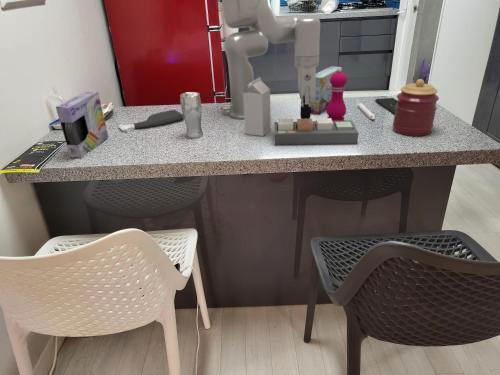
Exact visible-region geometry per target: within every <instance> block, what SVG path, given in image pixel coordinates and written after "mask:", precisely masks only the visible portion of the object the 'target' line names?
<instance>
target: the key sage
mask: <svg viewBox="0 0 500 375" xmlns="http://www.w3.org/2000/svg"><path fill="white" fill-rule="evenodd" d="M335 128H336V130H350V129H353V126H352V124H351V122H335Z"/></svg>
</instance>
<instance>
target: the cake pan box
mask: <svg viewBox="0 0 500 375" xmlns="http://www.w3.org/2000/svg"><path fill="white" fill-rule="evenodd" d="M99 94H100V93H99V91H97V90H86V91H84V92H82V93H80V94H78V95H75V96H73V97H71V98H69V99H68V100H66V101H64V102H62V103H60V104H58V105H56V106H55V109H56V114H57V117H58V121H59V123H60V127H61V130H62V133H63V137H64V141H65V144H66V147H67V150H68V154H69V157H70V158H71V157H77V158H76V159H83V158H84V157H85V156H87V155H88V154H89V153H90V152H92V151H93V150H94V149H95V148H97V147H98V146H99V145H101V142H102V143H103V142H104V141H106V139H108V138H109V134H108V129H107V124H106V120H105V116H104V111H103V107H102V103H101V99H100V95H99ZM96 146H97V147H96ZM92 149H93V150H92ZM91 150H92V151H91ZM88 152H89V153H88ZM87 153H88V154H87ZM86 154H87V155H86ZM84 155H85V156H84ZM83 156H84V157H83ZM82 157H83V158H82Z"/></svg>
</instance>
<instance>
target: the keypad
mask: <svg viewBox="0 0 500 375" xmlns="http://www.w3.org/2000/svg"><path fill="white" fill-rule="evenodd" d="M312 121H313V120H312ZM332 122H333V130H316V120H315V121H313V130H302V131H297V121H293V131H278V121H276V122H275V121H274V127H273V128H274V130H273V131H274V135H273V137H274V146H276V147H281V146H282V147H285V146H287V147H288V146H330V145H331V146H332V145H334V146H337V145H339V146H340V145H358V142H359V141H358V140H359V131H358V129H357V127H356V125H355V123H354V122H353V120H350V119H349V120H344V121H332ZM335 122H351V124H352V126H353V129H350V130H336V128H335Z"/></svg>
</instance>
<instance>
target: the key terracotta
mask: <svg viewBox="0 0 500 375" xmlns="http://www.w3.org/2000/svg"><path fill="white" fill-rule="evenodd" d="M296 122H297V131H302V130H313V119H312V118H310V119H301V118H296Z"/></svg>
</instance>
